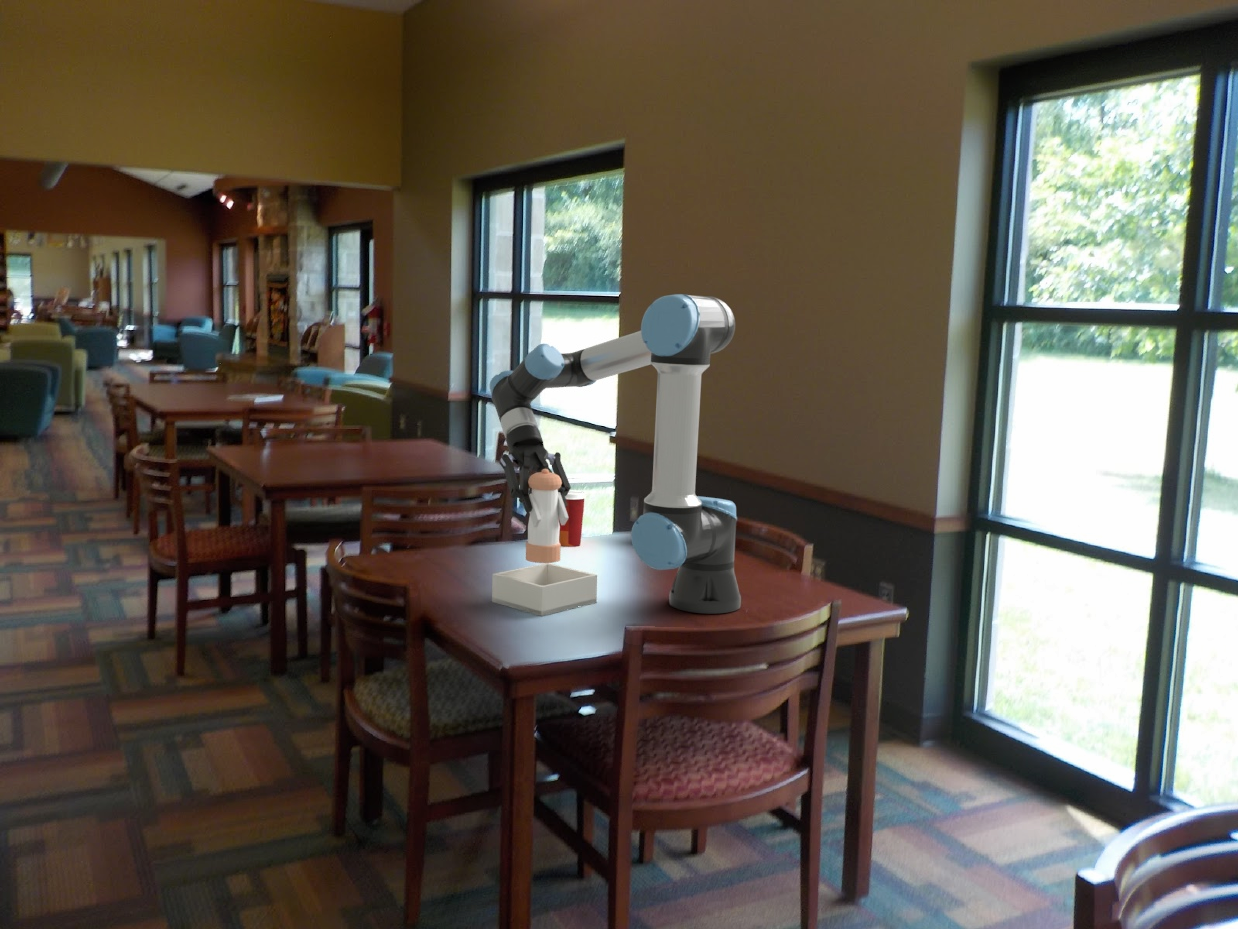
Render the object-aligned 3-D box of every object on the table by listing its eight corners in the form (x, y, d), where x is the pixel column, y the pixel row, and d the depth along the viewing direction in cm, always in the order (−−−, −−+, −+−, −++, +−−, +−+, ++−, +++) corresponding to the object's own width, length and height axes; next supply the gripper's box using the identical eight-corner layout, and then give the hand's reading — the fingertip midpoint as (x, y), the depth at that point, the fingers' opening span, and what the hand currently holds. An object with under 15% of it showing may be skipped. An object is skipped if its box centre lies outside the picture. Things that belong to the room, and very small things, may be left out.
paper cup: (586, 542, 301) (587, 490, 299) (582, 548, 293) (583, 494, 292) (557, 540, 302) (558, 489, 300) (552, 546, 294) (553, 493, 292)
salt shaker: (558, 564, 234) (561, 472, 231) (523, 562, 234) (525, 471, 232) (561, 556, 241) (564, 467, 239) (527, 554, 241) (529, 465, 239)
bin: (596, 602, 239) (597, 575, 239) (541, 616, 228) (542, 587, 227) (546, 589, 249) (547, 562, 249) (492, 601, 238) (492, 574, 237)
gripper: (555, 443, 252) (585, 529, 240) (477, 445, 244) (504, 535, 232) (566, 422, 247) (597, 509, 235) (486, 423, 238) (515, 514, 226)
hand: (551, 522), depth 233 cm, fingers closed on salt shaker, 5 cm apart
